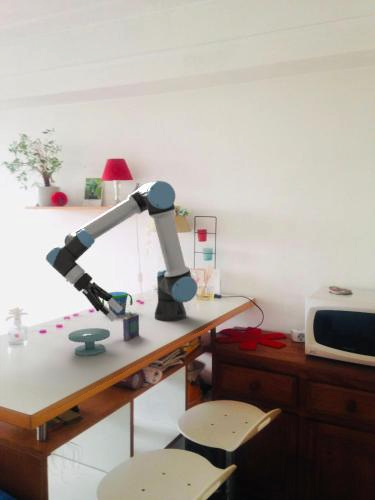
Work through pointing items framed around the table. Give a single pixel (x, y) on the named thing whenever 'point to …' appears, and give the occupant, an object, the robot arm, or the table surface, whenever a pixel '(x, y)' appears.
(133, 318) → the flask
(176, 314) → the robot arm
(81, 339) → the cake stand
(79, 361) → the table surface
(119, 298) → the snack cup
